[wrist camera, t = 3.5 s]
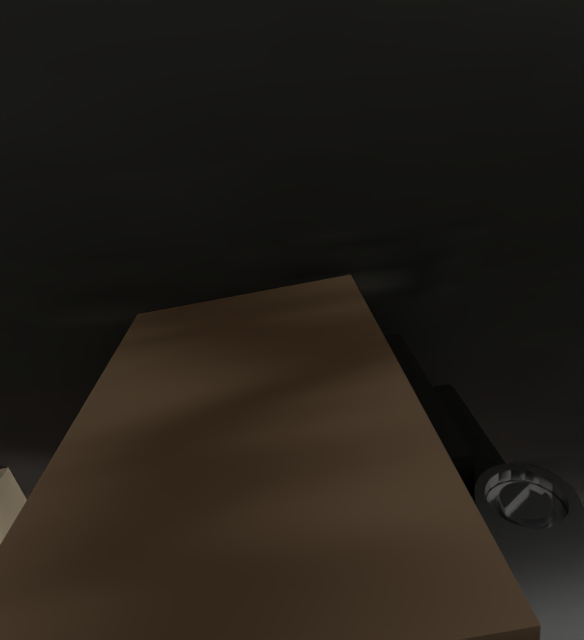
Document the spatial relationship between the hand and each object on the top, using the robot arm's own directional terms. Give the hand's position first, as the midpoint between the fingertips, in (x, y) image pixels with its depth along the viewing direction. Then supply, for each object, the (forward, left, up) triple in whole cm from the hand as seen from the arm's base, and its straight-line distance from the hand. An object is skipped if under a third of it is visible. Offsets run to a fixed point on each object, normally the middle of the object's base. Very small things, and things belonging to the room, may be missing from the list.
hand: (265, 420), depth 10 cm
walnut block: (0, 0, -2) cm, 2 cm away
